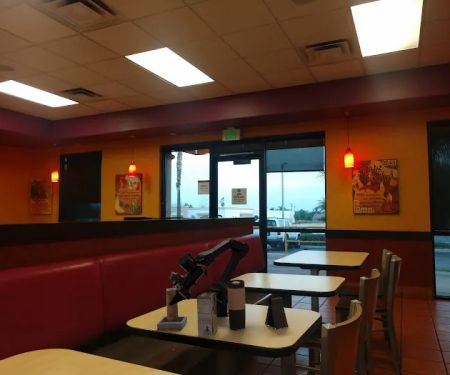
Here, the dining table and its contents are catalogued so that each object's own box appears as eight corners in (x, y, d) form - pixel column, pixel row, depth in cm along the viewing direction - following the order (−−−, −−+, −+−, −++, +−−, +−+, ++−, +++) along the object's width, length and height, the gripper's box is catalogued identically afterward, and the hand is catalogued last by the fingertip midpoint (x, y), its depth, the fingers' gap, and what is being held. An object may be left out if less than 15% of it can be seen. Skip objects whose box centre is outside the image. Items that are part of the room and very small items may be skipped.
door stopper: (288, 326, 164) (287, 298, 165) (277, 329, 161) (276, 301, 162) (275, 321, 172) (274, 294, 173) (264, 324, 169) (263, 296, 170)
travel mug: (237, 323, 171) (235, 278, 172) (249, 327, 165) (248, 280, 166) (225, 327, 166) (223, 281, 166) (237, 331, 160) (236, 283, 161)
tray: (186, 321, 176) (186, 316, 176) (181, 329, 165) (181, 323, 165) (163, 321, 177) (163, 316, 177) (157, 329, 166) (157, 323, 166)
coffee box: (203, 329, 165) (202, 291, 166) (217, 329, 164) (216, 292, 164) (197, 336, 156) (196, 297, 157) (212, 337, 155) (211, 297, 155)
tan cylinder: (176, 316, 174) (175, 287, 174) (178, 319, 170) (177, 289, 170) (167, 317, 173) (166, 288, 173) (168, 320, 168) (167, 290, 169)
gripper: (176, 262, 182) (153, 288, 179) (183, 268, 164) (158, 297, 161) (193, 277, 184) (171, 303, 180) (201, 285, 166) (177, 313, 163)
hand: (169, 303), depth 171 cm, fingers closed on tan cylinder, 4 cm apart
